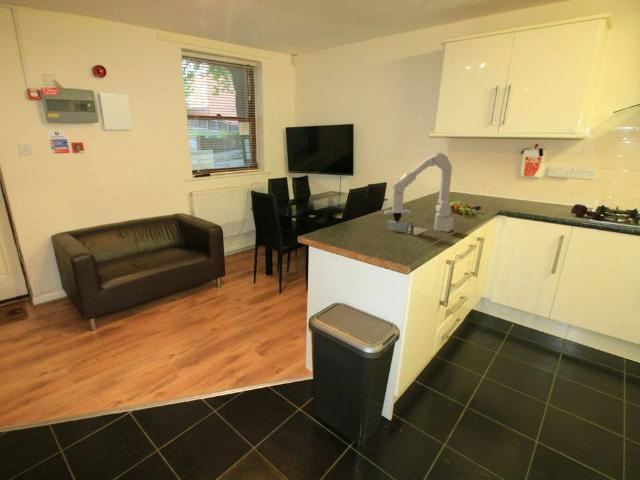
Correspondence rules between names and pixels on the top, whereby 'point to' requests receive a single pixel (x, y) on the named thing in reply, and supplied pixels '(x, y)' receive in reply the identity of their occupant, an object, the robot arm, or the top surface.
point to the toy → (463, 208)
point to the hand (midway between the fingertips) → (396, 226)
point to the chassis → (411, 230)
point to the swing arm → (400, 225)
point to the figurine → (585, 212)
